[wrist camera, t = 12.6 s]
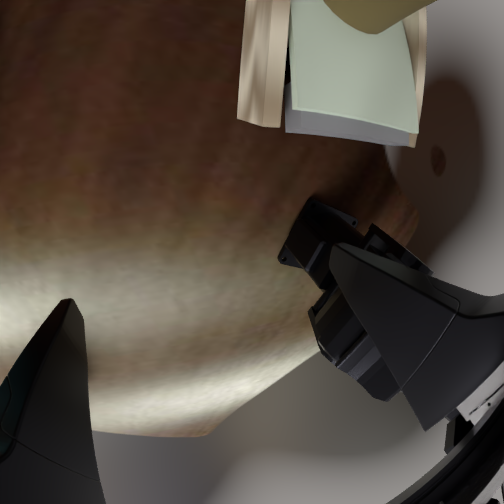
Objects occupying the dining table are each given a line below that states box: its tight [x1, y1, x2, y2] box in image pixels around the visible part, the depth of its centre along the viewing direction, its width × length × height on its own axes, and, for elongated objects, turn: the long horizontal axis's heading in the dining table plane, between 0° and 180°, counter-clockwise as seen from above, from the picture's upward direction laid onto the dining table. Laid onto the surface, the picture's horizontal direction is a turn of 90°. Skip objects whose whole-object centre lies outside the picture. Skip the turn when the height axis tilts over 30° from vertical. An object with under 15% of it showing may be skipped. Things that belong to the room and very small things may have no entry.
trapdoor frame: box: [237, 0, 427, 148], centre depth 13 cm, size 16×13×5 cm
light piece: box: [284, 0, 419, 146], centre depth 13 cm, size 15×10×3 cm, turn 177°
